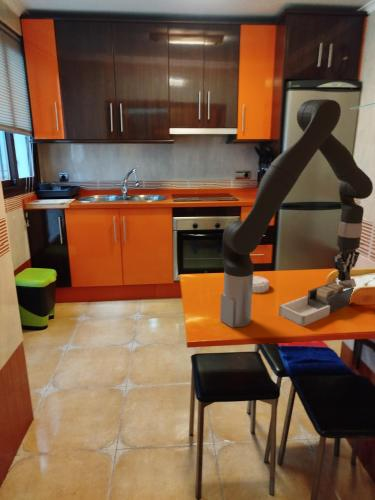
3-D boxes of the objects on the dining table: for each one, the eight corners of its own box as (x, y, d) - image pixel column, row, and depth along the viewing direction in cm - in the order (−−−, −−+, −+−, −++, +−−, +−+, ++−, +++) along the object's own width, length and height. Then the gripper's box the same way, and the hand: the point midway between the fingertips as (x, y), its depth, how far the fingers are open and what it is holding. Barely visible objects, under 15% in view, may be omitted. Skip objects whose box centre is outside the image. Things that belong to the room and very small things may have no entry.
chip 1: (325, 302, 122) (327, 292, 120) (316, 298, 125) (317, 288, 124) (332, 300, 124) (333, 289, 123) (322, 296, 127) (324, 286, 126)
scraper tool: (352, 287, 124) (345, 263, 125) (340, 289, 129) (333, 266, 130) (356, 286, 126) (349, 262, 127) (344, 288, 130) (337, 264, 131)
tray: (302, 326, 111) (303, 316, 110) (278, 314, 119) (279, 305, 118) (329, 315, 119) (330, 306, 118) (304, 304, 127) (305, 296, 126)
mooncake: (274, 287, 144) (274, 279, 143) (258, 295, 135) (258, 287, 134) (250, 280, 152) (250, 272, 151) (233, 287, 143) (233, 279, 142)
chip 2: (335, 298, 125) (337, 288, 124) (326, 295, 128) (327, 285, 127) (342, 296, 127) (343, 286, 126) (332, 292, 130) (333, 282, 129)
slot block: (326, 314, 120) (328, 298, 118) (306, 305, 126) (308, 290, 124) (352, 303, 128) (355, 288, 127) (332, 295, 135) (334, 281, 133)
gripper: (348, 239, 117) (341, 286, 122) (370, 233, 124) (363, 278, 129) (328, 234, 123) (323, 280, 128) (350, 229, 130) (344, 273, 135)
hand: (343, 279), depth 128 cm, fingers closed on scraper tool, 2 cm apart
